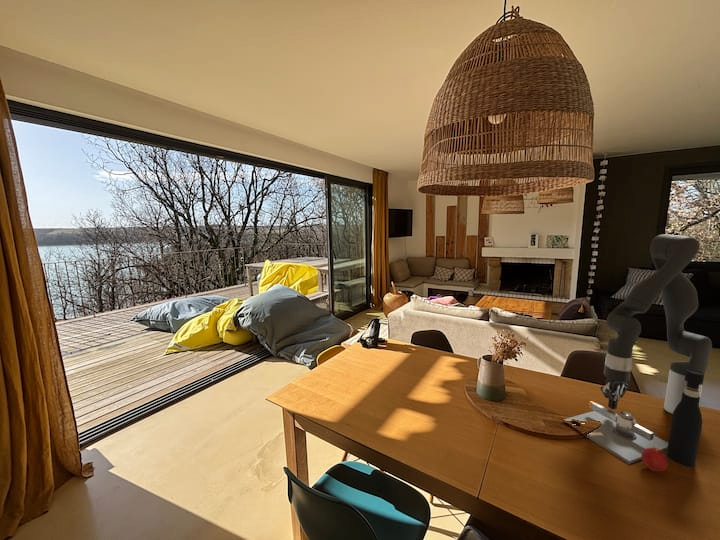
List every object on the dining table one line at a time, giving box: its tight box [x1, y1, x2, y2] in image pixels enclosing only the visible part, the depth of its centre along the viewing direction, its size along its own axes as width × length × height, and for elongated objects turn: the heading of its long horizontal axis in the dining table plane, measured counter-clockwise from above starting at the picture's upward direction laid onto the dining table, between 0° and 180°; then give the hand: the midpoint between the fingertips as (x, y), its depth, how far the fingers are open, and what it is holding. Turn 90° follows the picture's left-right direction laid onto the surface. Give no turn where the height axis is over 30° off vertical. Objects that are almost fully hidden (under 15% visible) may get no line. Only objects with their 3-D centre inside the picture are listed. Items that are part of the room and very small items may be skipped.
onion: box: [641, 447, 669, 472], centre depth 92 cm, size 6×6×8 cm
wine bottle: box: [666, 369, 705, 468], centre depth 95 cm, size 6×6×30 cm
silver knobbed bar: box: [588, 400, 655, 441], centre depth 110 cm, size 20×5×7 cm, turn 19°
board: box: [562, 410, 668, 465], centre depth 109 cm, size 22×22×1 cm
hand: (612, 408), depth 117 cm, fingers closed
